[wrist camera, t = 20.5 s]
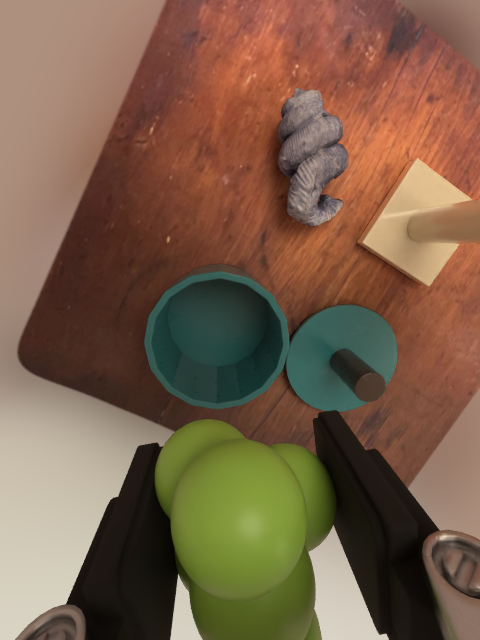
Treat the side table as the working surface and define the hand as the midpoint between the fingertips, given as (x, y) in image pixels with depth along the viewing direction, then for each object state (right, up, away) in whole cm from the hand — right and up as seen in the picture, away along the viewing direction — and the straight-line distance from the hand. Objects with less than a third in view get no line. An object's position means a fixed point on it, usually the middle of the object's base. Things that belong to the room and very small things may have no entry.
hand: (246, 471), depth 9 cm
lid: (+10, +1, +21) cm, 23 cm away
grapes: (0, 0, 0) cm, 0 cm away
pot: (-2, +5, +19) cm, 20 cm away
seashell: (+5, +18, +17) cm, 25 cm away
